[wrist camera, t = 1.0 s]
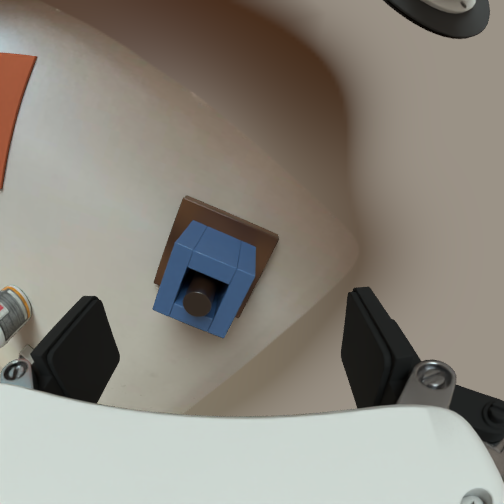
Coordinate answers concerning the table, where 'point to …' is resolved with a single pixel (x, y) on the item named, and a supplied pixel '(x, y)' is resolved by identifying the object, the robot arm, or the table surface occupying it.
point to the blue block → (211, 264)
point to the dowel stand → (193, 209)
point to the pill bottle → (12, 312)
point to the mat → (11, 98)
